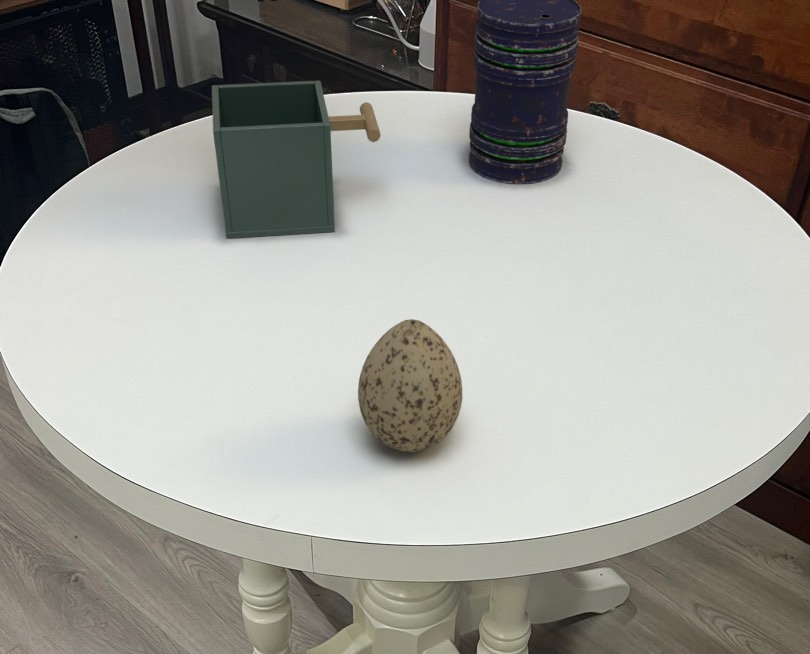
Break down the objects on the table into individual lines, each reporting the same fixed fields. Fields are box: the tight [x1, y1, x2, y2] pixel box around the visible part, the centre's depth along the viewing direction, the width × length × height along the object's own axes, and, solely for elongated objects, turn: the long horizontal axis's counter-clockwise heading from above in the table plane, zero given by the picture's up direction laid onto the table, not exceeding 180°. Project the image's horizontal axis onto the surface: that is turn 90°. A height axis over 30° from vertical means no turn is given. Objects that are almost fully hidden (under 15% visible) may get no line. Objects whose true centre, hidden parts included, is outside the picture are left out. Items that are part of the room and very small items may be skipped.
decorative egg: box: [357, 318, 463, 453], centre depth 68 cm, size 7×7×10 cm
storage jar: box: [468, 0, 582, 185], centre depth 98 cm, size 10×10×15 cm
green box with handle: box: [211, 80, 381, 239], centre depth 92 cm, size 10×10×15 cm
